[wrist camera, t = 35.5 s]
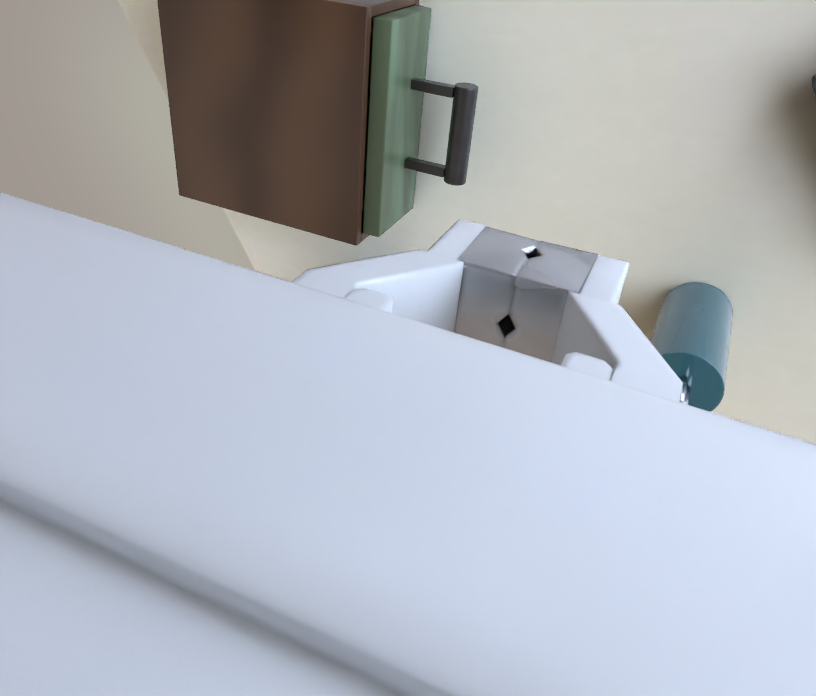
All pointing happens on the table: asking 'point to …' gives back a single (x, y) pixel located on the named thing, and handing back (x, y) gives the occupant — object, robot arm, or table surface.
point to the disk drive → (814, 83)
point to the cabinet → (272, 106)
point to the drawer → (406, 118)
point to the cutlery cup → (696, 341)
